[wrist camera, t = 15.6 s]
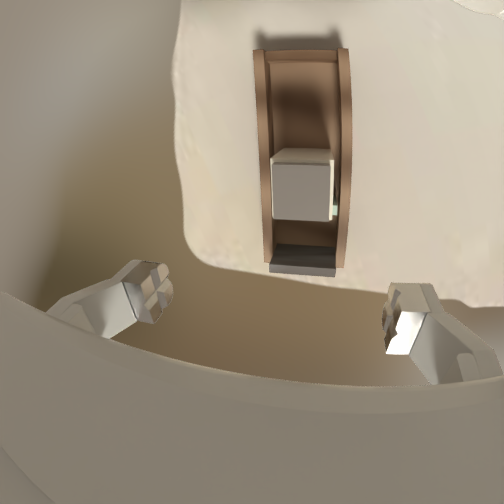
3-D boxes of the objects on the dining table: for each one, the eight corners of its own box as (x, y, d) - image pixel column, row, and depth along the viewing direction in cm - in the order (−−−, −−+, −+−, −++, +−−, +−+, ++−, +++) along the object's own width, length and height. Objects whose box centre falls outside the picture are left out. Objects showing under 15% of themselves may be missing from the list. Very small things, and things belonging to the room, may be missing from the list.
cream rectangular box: (283, 147, 27) (267, 160, 20) (330, 149, 26) (334, 162, 18) (285, 192, 30) (269, 222, 22) (330, 193, 29) (332, 225, 21)
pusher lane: (261, 58, 24) (247, 45, 19) (345, 57, 22) (350, 43, 17) (270, 246, 35) (260, 271, 29) (342, 251, 32) (344, 277, 27)
